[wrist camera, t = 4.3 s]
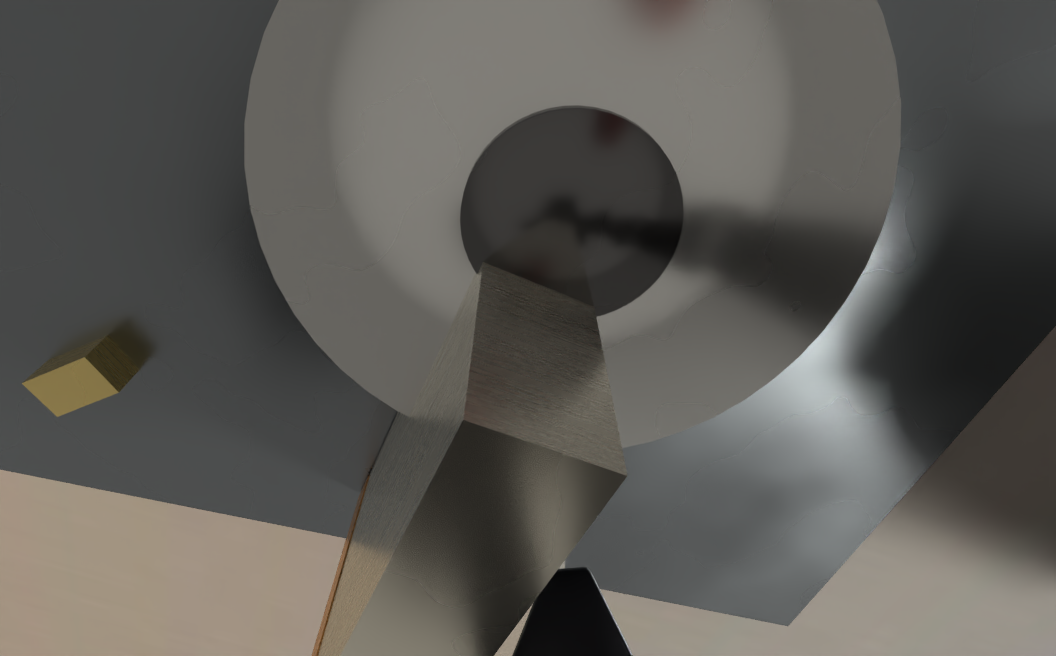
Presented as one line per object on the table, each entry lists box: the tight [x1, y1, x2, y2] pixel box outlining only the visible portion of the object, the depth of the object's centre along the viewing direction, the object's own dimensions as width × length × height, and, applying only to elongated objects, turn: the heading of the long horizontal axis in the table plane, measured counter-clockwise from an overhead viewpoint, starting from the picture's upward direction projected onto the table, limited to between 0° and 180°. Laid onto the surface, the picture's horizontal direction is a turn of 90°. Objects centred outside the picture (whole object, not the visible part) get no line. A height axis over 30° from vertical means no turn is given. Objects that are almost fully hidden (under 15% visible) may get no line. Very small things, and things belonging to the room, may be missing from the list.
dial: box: [244, 0, 901, 656], centre depth 7 cm, size 10×7×4 cm
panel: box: [0, 0, 1056, 626], centre depth 9 cm, size 16×16×2 cm
